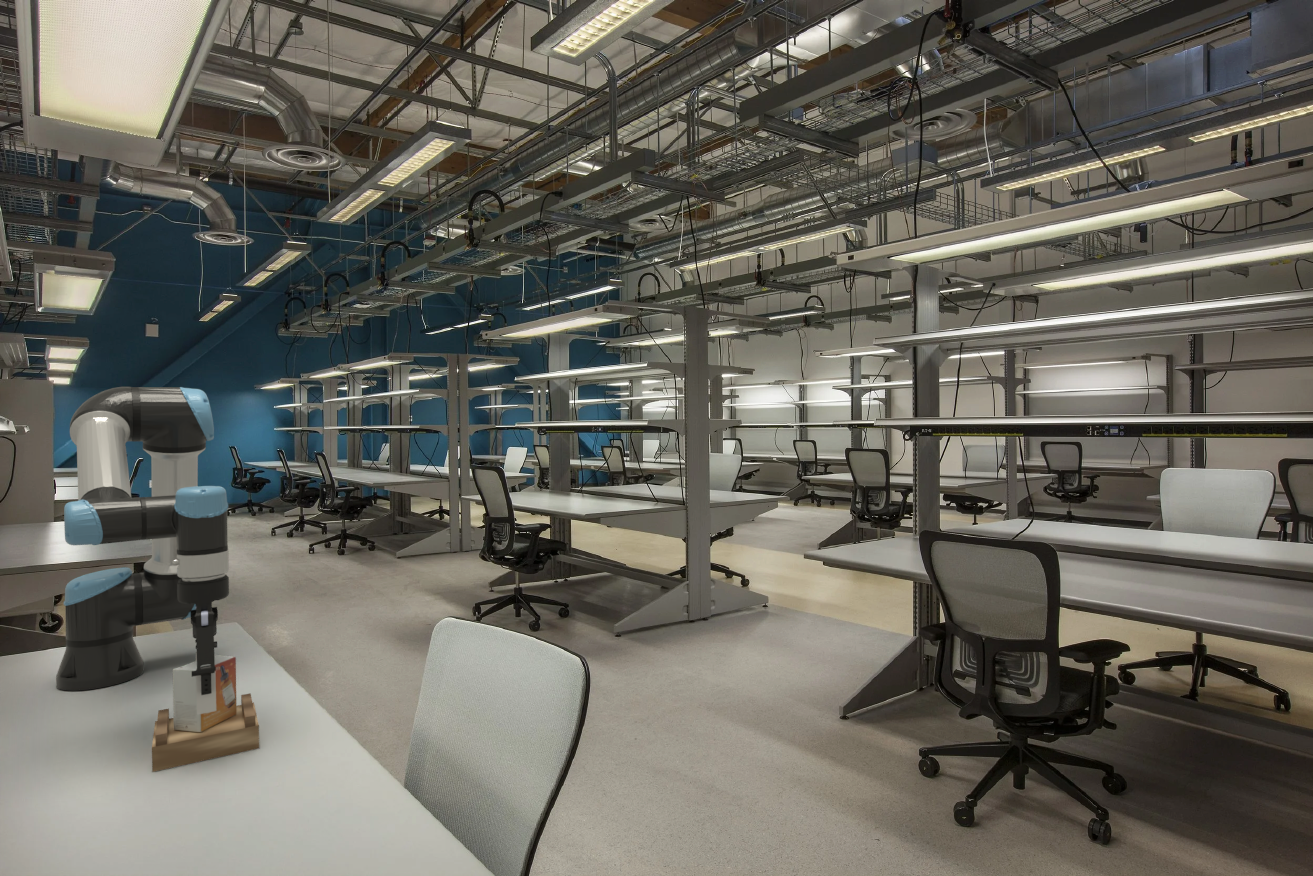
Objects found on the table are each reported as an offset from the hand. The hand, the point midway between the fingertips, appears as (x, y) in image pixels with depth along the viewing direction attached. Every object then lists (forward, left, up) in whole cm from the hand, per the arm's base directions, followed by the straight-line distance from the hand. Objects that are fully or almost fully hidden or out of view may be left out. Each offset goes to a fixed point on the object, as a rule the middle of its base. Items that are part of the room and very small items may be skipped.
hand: (206, 699), depth 124 cm
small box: (0, 0, -4) cm, 4 cm away
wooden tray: (0, 0, -8) cm, 8 cm away
